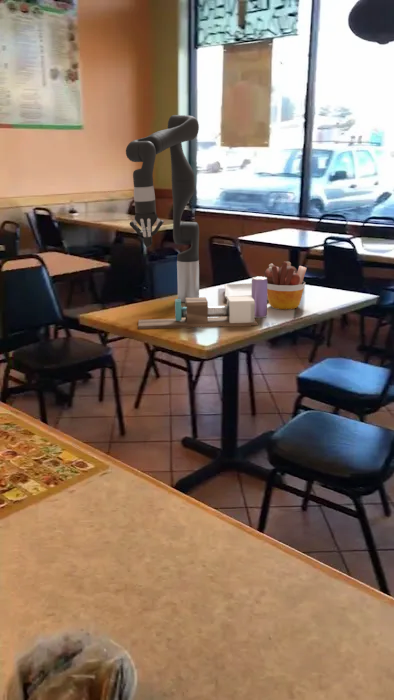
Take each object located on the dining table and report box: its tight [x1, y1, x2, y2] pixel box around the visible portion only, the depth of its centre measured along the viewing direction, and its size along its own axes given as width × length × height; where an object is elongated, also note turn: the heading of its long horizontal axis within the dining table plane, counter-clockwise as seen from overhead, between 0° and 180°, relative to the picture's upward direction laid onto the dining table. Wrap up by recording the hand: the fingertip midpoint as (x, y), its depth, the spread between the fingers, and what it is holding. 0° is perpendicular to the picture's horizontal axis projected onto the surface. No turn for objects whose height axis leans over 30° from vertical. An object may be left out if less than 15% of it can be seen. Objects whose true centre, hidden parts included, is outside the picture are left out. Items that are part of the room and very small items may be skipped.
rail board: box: [138, 296, 258, 330], centre depth 233 cm, size 10×43×9 cm, turn 94°
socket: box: [226, 296, 255, 323], centre depth 234 cm, size 9×9×8 cm
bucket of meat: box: [264, 261, 307, 311], centre depth 257 cm, size 20×16×20 cm
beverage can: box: [251, 276, 268, 319], centre depth 242 cm, size 6×6×15 cm
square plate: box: [224, 282, 269, 303], centre depth 281 cm, size 27×27×4 cm
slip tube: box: [174, 298, 229, 321], centre depth 233 cm, size 25×5×7 cm, turn 94°
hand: (148, 246), depth 236 cm, fingers closed
